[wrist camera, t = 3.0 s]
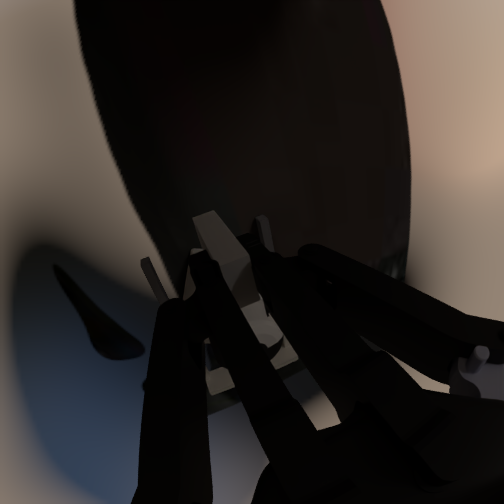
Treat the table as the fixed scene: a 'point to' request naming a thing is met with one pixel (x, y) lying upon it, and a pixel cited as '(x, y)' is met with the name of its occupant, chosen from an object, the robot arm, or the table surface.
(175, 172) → the table surface
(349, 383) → the robot arm
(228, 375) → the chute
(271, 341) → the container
